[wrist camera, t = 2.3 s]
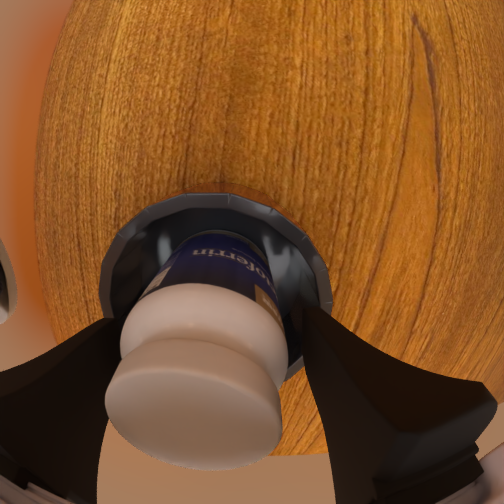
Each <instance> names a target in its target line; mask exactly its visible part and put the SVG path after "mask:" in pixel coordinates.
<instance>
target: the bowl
mask: <svg viewBox="0 0 504 504" xmlns="http://www.w3.org/2000/svg"><path fill="white" fill-rule="evenodd" d="M208 230H225V231H230V232H234V233H237V234H239V235H241V236H243V237H245V238H247V239H249V240H250V241H251V242H253V243H254V244H255V245H256V246H257V247H258V248H259V249H260V250H261V252H262V253H263V255H264V256H265V258H266V260H267V262H268V264H269V267H270V270H271V274H272V278H273V282H274V287H275V291H276V296H277V300H278V305H279V309H280V314H281V318H282V323H283V327H284V332H285V337H286V342H287V349H288V368H287V372H286V376H285V379H284V381H283V382H285V381H287V380H288V379H290V378H291V377H292V376H293V375H295V374H296V373H297V372H298V371H299V370H300V369H301V368H302V367H304V361H303V356H302V314H303V308H309V307H318V306H319V307H320V308H322V309H323V310H324V311H325V312H327V313H328V314H329V315H330V316H331V311H332V306H333V296H332V290H331V284H330V279H329V274H328V269H327V266H326V264H325V262H324V261H323V259H322V257H321V256H320V254H319V252H318V251H317V249H316V248H315V246H314V244H313V243H312V241H311V239H310V238H309V236H308V235H307V234H306V232H305V231H304V230H303V229H302V227H301V226H300V225H299V224H298V223H297V221H296V220H295V219H294V218H293V216H292V215H291V214H290V213H289V212H288V211H287V210H285V209H284V208H283V207H282V206H281V205H279V204H278V203H277V202H275V201H274V200H273V199H271V198H270V197H269V196H267V195H266V194H264V193H261V192H259V191H257V190H254V189H252V188H249V187H246V186H242V185H238V184H234V183H223V182H218V183H200V184H197V185H194V186H191V187H188V188H185V189H183V190H180V191H177V192H174V193H172V194H170V195H168V196H166V197H164V198H162V199H160V200H158V201H156V202H154V203H152V204H151V205H149V206H147V207H145V208H144V209H143V210H142V211H140V212H139V213H138V214H137V215H136V216H135V217H133V218H132V219H131V220H130V221H129V222H128V223H127V224H125V225H124V226H123V227H122V228H121V229H120V230H119V232H117V234H116V235H115V237H114V239H113V241H112V243H111V245H110V247H109V249H108V251H107V253H106V255H105V257H104V259H103V261H102V265H101V274H100V283H99V299H100V303H101V308H102V312H103V316H104V318H117V321H118V324H119V327H120V330H121V333H122V329H123V326H124V323H125V321H126V319H127V317H128V315H129V313H130V311H131V309H132V308H133V307H134V305H135V304H136V302H137V301H138V300H139V298H140V297H141V296H142V294H143V293H144V291H145V290H146V289H147V287H148V286H149V284H150V283H151V281H152V280H153V279H154V277H155V276H156V274H157V273H158V272H159V270H160V269H161V268H162V266H163V265H164V264H165V262H166V261H167V260H168V258H169V257H170V255H171V254H172V253H173V251H174V250H175V249H176V248H177V247H178V246H179V245H180V244H181V243H182V242H183V241H184V240H186V239H187V238H189V237H191V236H193V235H195V234H197V233H200V232H203V231H208Z"/></svg>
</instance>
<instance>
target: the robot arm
mask: <svg viewBox="0 0 504 504" xmlns="http://www.w3.org/2000/svg"><path fill="white" fill-rule="evenodd" d="M2 292H3V285H2V283H1V282H0V295H1V293H2ZM120 339H121V330H120V327H119V324H118V321H117V318H102V319H100V320H98V321H96V322H95V323H93V324H91V325H90V326H88V327H86V328H85V329H83V330H82V331H80V332H78V333H77V334H75V335H74V336H72V337H71V338H69V339H67V340H66V341H64V342H63V343H61V344H59V345H58V346H56V347H54V348H53V349H51V350H49V351H48V352H46V353H44V354H42V355H40V356H38V357H36V358H34V359H32V360H30V361H28V362H26V363H24V364H21V365H18V366H16V367H13V368H11V369H8V370H5V371H2V372H0V504H97V474H98V464H99V458H100V452H101V446H102V442H103V437H104V433H105V429H106V426H107V423H108V420H109V417H108V414H107V411H106V407H105V394H106V391H107V388H108V386H109V384H110V382H111V380H112V378H113V376H114V374H115V372H116V370H117V368H118V366H119V364H120V362H121V360H122V357H121V351H120ZM302 356H303V361H304V366H305V371H306V375H307V378H308V381H309V384H310V387H311V390H312V393H313V396H314V399H315V402H316V405H317V408H318V411H319V414H320V417H321V420H322V423H323V427H324V431H325V436H326V441H327V446H328V452H329V457H330V463H331V469H332V475H333V483H334V490H335V498H336V504H504V442H503V443H501V444H500V445H499V446H497V447H496V448H495V449H493V450H492V451H490V452H489V453H488V454H486V455H485V456H484V457H483V458H481V459H480V460H479V461H478V459H477V458H476V456H475V454H476V453H478V451H479V448H478V446H477V445H476V443H475V441H476V440H477V439H478V437H479V436H480V435H481V434H482V432H483V431H484V430H485V428H486V427H487V426H488V424H489V423H490V422H491V420H492V419H493V417H494V415H495V413H496V411H497V401H496V400H495V398H494V397H493V396H492V394H491V393H490V392H489V391H488V389H487V388H486V387H485V386H484V384H483V383H482V382H477V381H470V380H463V379H457V378H452V377H447V376H444V375H440V374H436V373H432V372H429V371H426V370H423V369H420V368H417V367H415V366H412V365H410V364H407V363H405V362H402V361H400V360H398V359H396V358H394V357H392V356H390V355H388V354H386V353H384V352H382V351H380V350H378V349H377V348H375V347H373V346H372V345H370V344H368V343H367V342H365V341H364V340H362V339H361V338H359V337H358V336H356V335H355V334H353V333H352V332H351V331H349V330H348V329H347V328H345V327H344V326H343V325H341V324H340V323H339V322H338V321H336V320H335V319H334V318H333V317H331V316H330V315H329V314H328V313H327V312H325V311H324V310H323V309H322V308H320V307H319V306H318V307H309V308H303V314H302Z"/></svg>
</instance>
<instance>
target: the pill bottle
mask: <svg viewBox="0 0 504 504" xmlns="http://www.w3.org/2000/svg"><path fill="white" fill-rule="evenodd" d="M120 351H121V357H122V360H121V362H120V364H119V366H118V368H117V370H116V372H115V374H114V376H113V378H112V380H111V382H110V384H109V386H108V388H107V391H106V394H105V407H106V411H107V414H108V417H109V419H110V421H111V422H112V424H113V426H114V427H115V429H116V430H117V431H118V432H119V434H120V435H122V437H124V438H125V439H126V440H127V441H128V442H129V443H131V444H132V445H133V446H134V447H136V448H137V449H139V450H141V451H142V452H144V453H146V454H148V455H150V456H151V457H154V458H156V459H158V460H160V461H163V462H166V463H169V464H172V465H176V466H180V467H184V468H190V469H197V470H228V469H234V468H239V467H243V466H247V465H249V464H252V463H255V462H257V461H259V460H261V459H263V458H264V457H266V456H267V455H268V454H270V453H271V452H272V451H273V450H274V449H275V448H276V446H277V445H278V443H279V441H280V439H281V436H282V415H281V404H280V398H279V393H278V390H279V389H280V387H281V385H282V384H283V381H284V379H285V376H286V372H287V368H288V349H287V342H286V337H285V332H284V327H283V323H282V318H281V314H280V309H279V305H278V300H277V296H276V291H275V287H274V282H273V278H272V274H271V270H270V267H269V264H268V262H267V260H266V258H265V256H264V255H263V253H262V252H261V250H260V249H259V248H258V247H257V246H256V245H255V244H254V243H253V242H251V241H250V240H249V239H247V238H245V237H243V236H241V235H239V234H237V233H234V232H230V231H225V230H208V231H203V232H200V233H197V234H195V235H193V236H191V237H189V238H187V239H186V240H184V241H183V242H182V243H181V244H180V245H179V246H178V247H177V248H176V249H175V250H174V251H173V253H172V254H171V255H170V257H169V258H168V260H167V261H166V262H165V264H164V265H163V266H162V268H161V269H160V270H159V272H158V273H157V274H156V276H155V277H154V279H153V280H152V281H151V283H150V284H149V286H148V287H147V289H146V290H145V291H144V293H143V294H142V296H141V297H140V298H139V300H138V301H137V302H136V304H135V305H134V307H133V308H132V309H131V311H130V313H129V315H128V317H127V319H126V321H125V323H124V326H123V329H122V333H121V339H120Z"/></svg>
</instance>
